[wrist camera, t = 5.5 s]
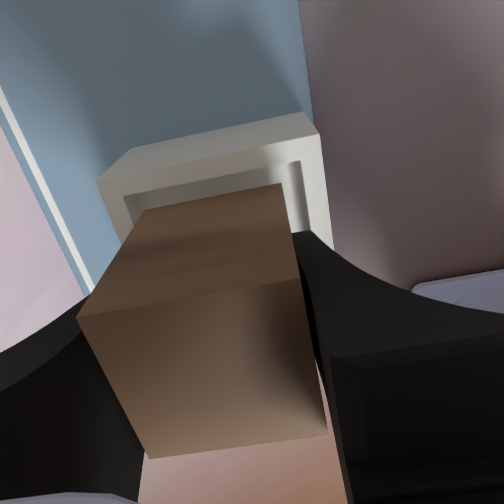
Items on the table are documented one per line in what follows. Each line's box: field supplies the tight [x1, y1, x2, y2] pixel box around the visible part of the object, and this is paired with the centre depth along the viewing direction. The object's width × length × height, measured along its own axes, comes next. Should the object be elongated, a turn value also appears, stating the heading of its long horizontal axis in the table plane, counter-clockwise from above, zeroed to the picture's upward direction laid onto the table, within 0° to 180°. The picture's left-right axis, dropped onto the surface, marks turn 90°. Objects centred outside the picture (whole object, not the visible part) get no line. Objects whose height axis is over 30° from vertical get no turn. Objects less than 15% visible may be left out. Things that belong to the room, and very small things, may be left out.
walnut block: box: [76, 183, 329, 459], centre depth 10 cm, size 4×4×5 cm
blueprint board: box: [0, 0, 334, 297], centre depth 14 cm, size 14×11×5 cm
